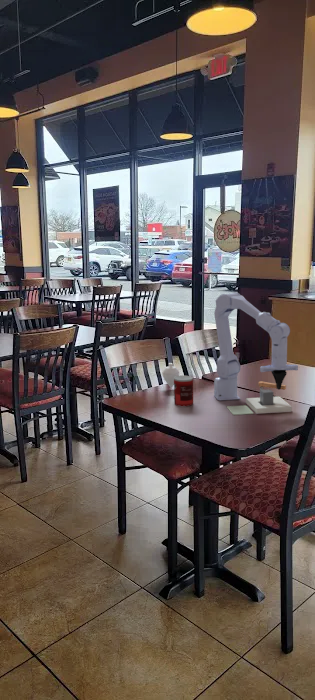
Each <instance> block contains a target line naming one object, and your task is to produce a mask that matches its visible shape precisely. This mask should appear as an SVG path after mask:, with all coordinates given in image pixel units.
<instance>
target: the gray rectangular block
mask: <svg viewBox="0 0 315 700" xmlns="http://www.w3.org/2000/svg"><path fill="white" fill-rule="evenodd" d="M273 397H274V391H272V389H270V388H269V389H263V390H260V389H259V398H260V404H261V405H262V406H265V405H273Z"/></svg>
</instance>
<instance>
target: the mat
mask: <svg viewBox="0 0 315 700" xmlns="http://www.w3.org/2000/svg"><path fill="white" fill-rule="evenodd" d="M226 408H227V409H228V410H229V412H230V413H231V414H232V416H240V415H243V416H244V415H253V414H255V412H254V411H253V410H252V409H251V408H250V407H249V406H248V405H231V406H230V405H229V406H226Z"/></svg>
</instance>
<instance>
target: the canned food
mask: <svg viewBox="0 0 315 700" xmlns="http://www.w3.org/2000/svg"><path fill="white" fill-rule="evenodd" d="M173 396H174V397H173V399H174V404H175V405H176V406H177V407H191V406H193V404H194V378H193V376H190V375H179V376H176V377H174V385H173Z"/></svg>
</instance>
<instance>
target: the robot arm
mask: <svg viewBox="0 0 315 700" xmlns="http://www.w3.org/2000/svg"><path fill="white" fill-rule="evenodd" d="M235 310H241V311H243V312H244V313H245V314H247V315H249V316H250V317H252V318H253V319H255V322H256V325H258V326H259V327H261V328H262V329H263V330H264V331H266V332H267V333H268V334H269V335H268V336H269V338H270V339H271V364H268V365H262V366H260V367H259V372H261V373H265V372H271V374H272V376H273V379H274V381H275V384H276V387H277V390H282V389H281V385H283V382H284V379H285V378H286V376H287V371H299V365H298V364H287V361H288V337H289V336H290V333H291V328H290V326H289V325H288V324H287V323H285V322H281V320H279V319H276V318H274V317H273V316H272V315H271V313H270V312H266V311H263V312H262V311H260V310H259V309H258V308H257V307H255V306H254V305H253V304H252V303H251V302H250V301H248V300H247V299H246V298H245V297H244V295H241V294H240V293H239V292H237V291H235V292H231V293H221V294H220V295H219V296H218V297H217V298H216V300H215V310H214V321H215V328H216V329H215V330H216V334H217V341H218V348H219V349H218V350H219V357H218V359H217V360H216V364H217V365H216V374H217V375H218V377H215V378H214V380H213V381H214V382H213V387H214V388H213V389H214V391H213V396H214V397H215V399H216V400H217V401H231V400H240V399H241V397H240V396H239V395H238V374H239V372H241V364H240V362H239V359H238V356H237V355H236V354H234V349H233V341H232V334H231V328H230V319H229V316H230V315H231V313H232V312H233V311H235Z"/></svg>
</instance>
